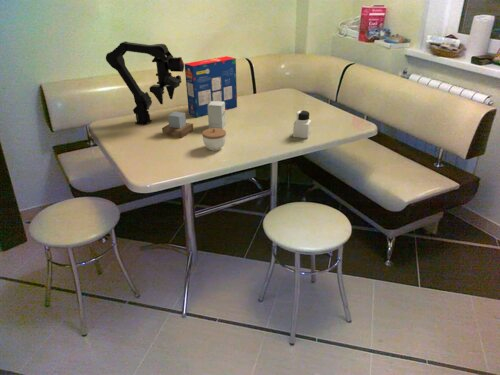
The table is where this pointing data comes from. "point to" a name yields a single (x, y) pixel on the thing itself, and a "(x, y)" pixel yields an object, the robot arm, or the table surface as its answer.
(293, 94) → the table surface
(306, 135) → the medicine bottle
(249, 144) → the table surface
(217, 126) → the supplement box
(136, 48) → the robot arm
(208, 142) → the lidded jar
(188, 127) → the walnut block
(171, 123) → the slate cube
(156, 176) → the table surface
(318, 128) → the table surface
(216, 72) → the blue board game box
